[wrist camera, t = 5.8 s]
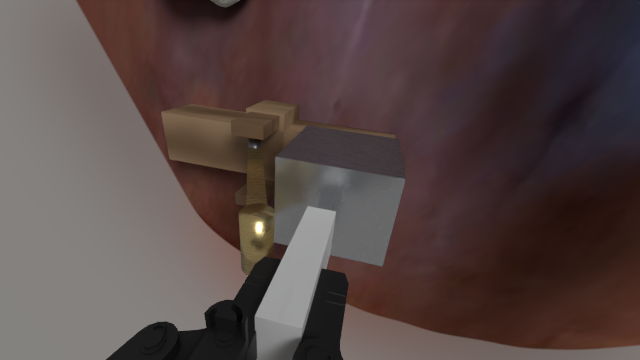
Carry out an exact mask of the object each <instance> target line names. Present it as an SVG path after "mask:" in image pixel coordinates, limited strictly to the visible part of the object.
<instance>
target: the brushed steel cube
mask: <svg viewBox="0 0 640 360" xmlns="http://www.w3.org/2000/svg"><path fill="white" fill-rule="evenodd" d="M405 180H406V178H405V172H404V166H403V159H402V153H401V147H400V141H399V139H396V138H389V137H383V136H376V135H370V134H363V133H356V132H350V131H343V130H337V129H330V128H323V127H317V126H310V125H307V126H306V127H305V128H304V129H303V130H302V131H301V132H300V133H299V134H298V135H297V136H296V137H295V138H294V139H293V140H292V141H291V142H290V143H289V144H288V145H287V146H286V147H285V148H284V149H283V150H282V151H281V152H280V153H279V154H278V155H277V156H276V157H275V205H274V211H275V223H274V242H275V243H279V244H284V245H288V246H289V244H290V242H291V240H292V238H293V236H294V234H295V232H296V229H297V227H298V225H299V223H300V221H301V219H302V217H303V215H304V213H305V211H306V209H307V207H308V206H310V207H315V208H321V209H326V210H331V211H336V216H335V223H334V231H333V238H332V245H331V252H330V255H333V256H338V257H342V258H347V259H351V260H356V261H360V262H365V263H369V264H374V265H378V266H383V263H384V259H385V255H386V251H387V248H388V244H389V240H390V236H391V233H392V229H393V225H394V221H395V218H396V214H397V210H398V206H399V202H400V199H401V195H402V191H403V187H404V184H405Z"/></svg>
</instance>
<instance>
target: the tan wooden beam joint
mask: <svg viewBox="0 0 640 360" xmlns="http://www.w3.org/2000/svg"><path fill="white" fill-rule="evenodd" d="M161 113H162V119H163V125H164V131H165V136H166V142H167V148H168V153H169V159H171V160H177V161H182V162H187V163H193V164H198V165H203V166H209V167H214V168H220V169H225V170H230V171H236V172H241V173H247V162H248V138H254V139H260V140H262V156H263V166H264V177H265V188H266V199H267V205H268V203H269V202H270V201H271V200H272V198H273V197H274V196H275V157H276V156H277V155H278V154H279V153H280V152H281V151H282V150H283V149H284V148H285V147H286V146H287V145H288V144H289V143H290V142H291V141H292V140H293V139H294V138H295V137H296V136H297V135H298V134H299V133H300V132H301V131H302V130H303V129H304V128H305V127H306V126H307V125H310V126H317V127H323V128H330V129H337V130H343V131H350V132H356V133H363V134H370V135H376V136H383V137H389V138H395V134H389V133H382V132H376V131H369V130H362V129H355V128H349V127H342V126H335V125H329V124H322V123H315V122H309V121H302V120H298V113H299V105H297V104H290V103H283V102H276V101H269V100H265V101H262V102H260V103H258V104H255V105H253V106H251V107H248V108H246V112H242V111H235V110H228V109H221V108H215V107H208V106H201V105H195V104H189V105H185V106H181V107H178V108H174V109H171V110H167V111H164V112H161ZM246 194H247V182H246V183H245V184H244V185H243V186H242V187H241V188H240V189H239V190H238V191H237V192H236V193H235V203H236V204H237V205H242V206H246Z"/></svg>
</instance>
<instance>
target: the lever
mask: <svg viewBox="0 0 640 360" xmlns="http://www.w3.org/2000/svg"><path fill="white" fill-rule="evenodd" d="M274 223H275V211H274V209H273V208H272V207H271V206H269V205H267V199H266V188H265V177H264V166H263V156H262V140H260V139H254V138H248V162H247V194H246V206H245V207H243V208H242V209H241V210H240V211H239V228H240V247H241V265H242V271H243V272H244V273H245V274H246V275H249V274H250V272H251V270H252V268H253V267H254V265H255V264H256V263H257V262H258V261H259V260H261V259H262V258H263V257H265V256H266V257H270V258H274Z"/></svg>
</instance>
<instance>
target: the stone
mask: <svg viewBox="0 0 640 360" xmlns="http://www.w3.org/2000/svg"><path fill="white" fill-rule="evenodd" d="M211 1H212V2H214V3H215V4H217V5H219V6H221V7H229V6H231V5H233V4H235V3H236V2H238V1H240V0H211Z"/></svg>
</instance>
